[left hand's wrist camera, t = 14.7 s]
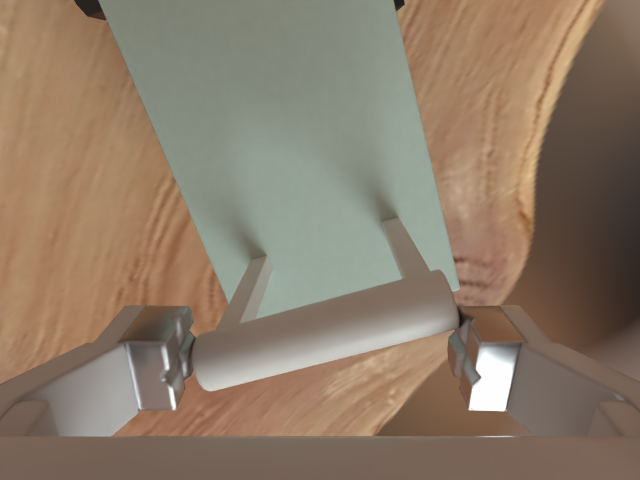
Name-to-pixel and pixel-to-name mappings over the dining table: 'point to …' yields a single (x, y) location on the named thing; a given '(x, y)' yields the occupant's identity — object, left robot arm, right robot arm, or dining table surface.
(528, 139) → the dining table surface
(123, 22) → the lid
